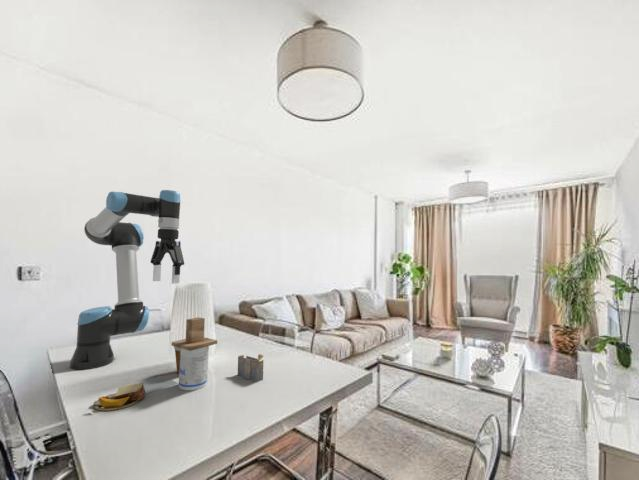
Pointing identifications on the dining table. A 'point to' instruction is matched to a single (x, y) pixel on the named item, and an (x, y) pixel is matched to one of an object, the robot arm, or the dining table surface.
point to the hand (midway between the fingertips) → (165, 282)
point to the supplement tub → (193, 368)
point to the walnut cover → (194, 336)
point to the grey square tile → (157, 384)
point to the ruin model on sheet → (250, 367)
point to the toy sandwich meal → (121, 397)
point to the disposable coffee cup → (177, 358)
